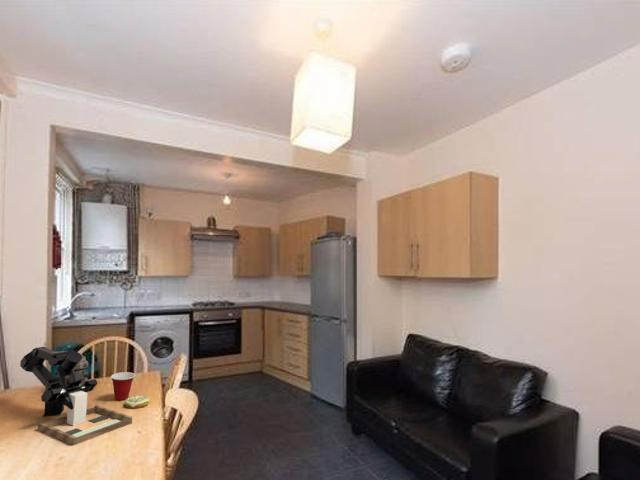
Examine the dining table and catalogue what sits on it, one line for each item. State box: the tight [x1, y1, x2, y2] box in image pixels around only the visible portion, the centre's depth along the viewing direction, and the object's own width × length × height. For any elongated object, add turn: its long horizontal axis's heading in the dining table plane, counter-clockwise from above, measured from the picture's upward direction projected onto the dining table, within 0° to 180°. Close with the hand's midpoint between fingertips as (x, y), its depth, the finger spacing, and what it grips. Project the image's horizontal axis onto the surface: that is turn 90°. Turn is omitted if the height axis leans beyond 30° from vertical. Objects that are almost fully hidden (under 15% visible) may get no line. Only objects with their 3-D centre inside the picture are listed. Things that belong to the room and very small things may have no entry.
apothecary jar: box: [69, 355, 90, 394], centre depth 194 cm, size 12×12×18 cm
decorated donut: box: [124, 394, 150, 409], centre depth 178 cm, size 10×11×4 cm
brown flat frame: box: [37, 405, 133, 446], centre depth 153 cm, size 26×24×2 cm
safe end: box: [73, 419, 120, 437], centre depth 149 cm, size 8×21×1 cm, turn 151°
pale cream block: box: [66, 391, 88, 427], centre depth 157 cm, size 5×5×12 cm
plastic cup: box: [110, 371, 136, 402], centre depth 185 cm, size 11×11×12 cm
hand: (79, 407), depth 156 cm, fingers closed on pale cream block, 5 cm apart
